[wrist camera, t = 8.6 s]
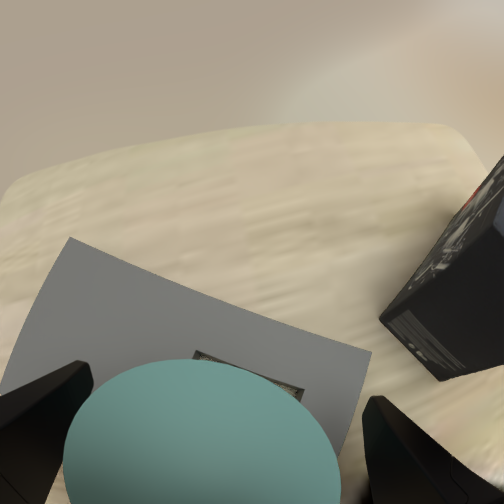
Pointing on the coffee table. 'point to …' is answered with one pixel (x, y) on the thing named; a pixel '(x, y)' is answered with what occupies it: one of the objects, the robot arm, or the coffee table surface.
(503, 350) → the small box
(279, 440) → the peg
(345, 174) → the coffee table surface
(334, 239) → the coffee table surface
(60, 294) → the socket plate
